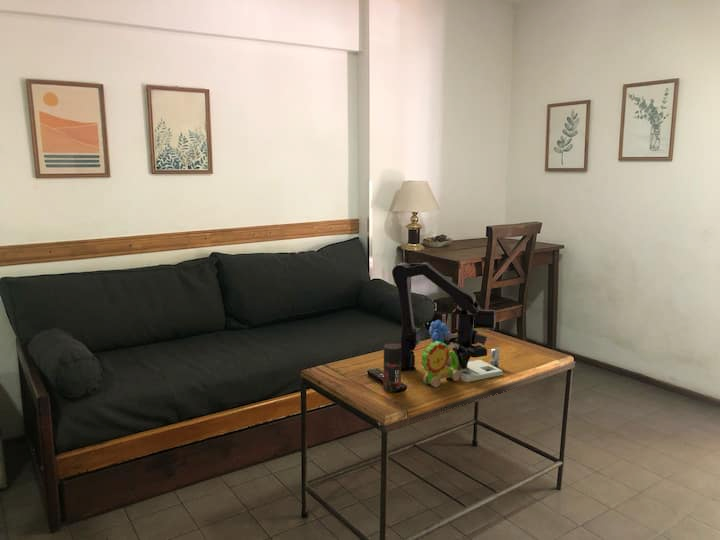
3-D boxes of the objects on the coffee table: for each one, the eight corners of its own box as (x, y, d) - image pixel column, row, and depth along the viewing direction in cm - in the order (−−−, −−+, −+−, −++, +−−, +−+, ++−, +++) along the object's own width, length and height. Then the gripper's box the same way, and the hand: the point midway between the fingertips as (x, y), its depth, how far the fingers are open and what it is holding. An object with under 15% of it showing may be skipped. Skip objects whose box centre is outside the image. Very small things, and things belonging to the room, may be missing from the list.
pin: (493, 369, 217) (494, 351, 216) (488, 366, 220) (489, 348, 218) (500, 367, 218) (501, 350, 217) (495, 365, 221) (495, 347, 220)
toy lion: (450, 375, 210) (452, 335, 208) (461, 380, 206) (463, 339, 203) (417, 385, 201) (418, 343, 198) (428, 390, 197) (429, 347, 194)
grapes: (422, 347, 242) (422, 319, 240) (433, 344, 246) (434, 316, 244) (443, 354, 233) (444, 325, 231) (454, 351, 237) (455, 322, 235)
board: (466, 382, 204) (466, 376, 204) (445, 370, 216) (445, 365, 215) (502, 374, 211) (502, 369, 211) (479, 363, 223) (480, 358, 222)
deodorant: (390, 383, 202) (390, 342, 199) (404, 388, 199) (405, 345, 196) (379, 388, 198) (380, 346, 195) (393, 393, 194) (394, 350, 191)
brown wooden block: (453, 369, 211) (454, 360, 210) (444, 364, 216) (444, 355, 215) (467, 367, 213) (467, 357, 213) (457, 362, 219) (457, 353, 218)
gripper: (500, 330, 203) (498, 373, 206) (467, 317, 219) (466, 357, 222) (474, 334, 198) (472, 378, 201) (443, 321, 214) (441, 361, 217)
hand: (463, 368), depth 210 cm, fingers closed
